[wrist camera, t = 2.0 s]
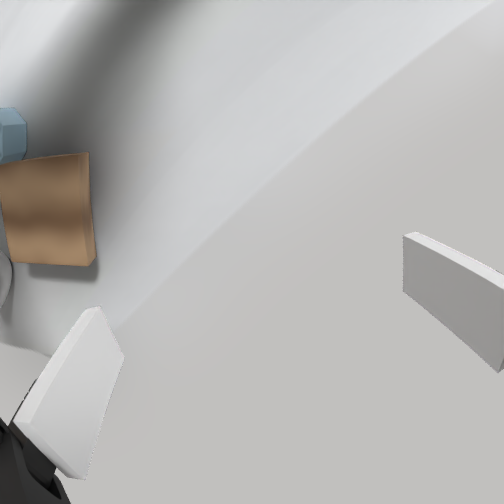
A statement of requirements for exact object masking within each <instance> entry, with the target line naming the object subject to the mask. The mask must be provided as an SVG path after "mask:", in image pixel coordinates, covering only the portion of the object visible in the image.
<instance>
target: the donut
mask: <svg viewBox="0 0 504 504" xmlns="http://www.w3.org/2000/svg"><path fill="white" fill-rule="evenodd" d="M11 279H12V268H11V264H10V261H9V259H8V257H7V256H6V255H5V254H4V253H3V252H1V251H0V308H1V307H2V305H3V304H4V302H5V300H6V297H7V295H8V292H9V289H10V285H11Z"/></svg>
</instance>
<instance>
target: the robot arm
mask: <svg viewBox="0 0 504 504" xmlns="http://www.w3.org/2000/svg"><path fill="white" fill-rule="evenodd" d="M403 257H404V258H403V292H405V293H406V294H407V295H408V296H410V297H411V298H412V299H413V300H415V301H416V302H417V303H418V304H420V305H421V306H422V307H423V308H424V309H426V310H427V311H428V312H429V313H430V314H432V315H433V316H434V317H435V318H437V319H438V320H439V321H440V322H441V323H442V324H444V325H445V326H446V327H447V328H448V329H449V330H450V331H452V332H453V333H454V334H455V335H456V336H457V337H459V338H460V339H461V340H462V341H463V342H464V343H465V344H467V345H468V346H469V347H470V348H471V349H472V350H473V351H474V352H475V353H477V354H478V355H479V356H480V357H481V358H482V359H483V360H484V361H485V362H486V363H487V364H489V365H490V366H491V367H492V368H493V369H494V370H495V371H496V372H497V373H498V372H500V371H501V370H503V369H504V275H503V274H502V273H500V272H498V271H496V270H494V269H492V268H490V267H488V266H486V265H484V264H482V263H480V262H478V261H476V260H475V259H473V258H471V257H468V256H467V255H464V254H462V253H461V252H459V251H457V250H454V249H452V248H450V247H448V246H446V245H444V244H442V243H440V242H437V241H436V240H433V239H431V238H429V237H427V236H425V235H422V234H420V233H418V232H413V233H409V234H405V235H403ZM124 359H125V357H124V355H123V353H122V351H121V349H120V347H119V345H118V343H117V341H116V339H115V337H114V335H113V333H112V331H111V328H110V326H109V324H108V322H107V320H106V317H105V315H104V313H103V311H102V308H101V306H97V307H92V308H87V309H85V311H84V312H83V313H82V315H81V316H80V318H79V319H78V320H77V322H76V323H75V324H74V326H73V327H72V329H71V330H70V331H69V333H68V334H67V336H66V337H65V338H64V340H63V341H62V343H61V344H60V346H59V347H58V349H57V350H56V351H55V353H54V354H53V356H52V357H51V359H50V360H49V362H48V363H47V365H46V367H45V368H44V370H43V371H42V373H41V374H40V376H39V377H38V378H37V379H36V380H35V381H34V383H33V384H32V386H31V388H30V389H29V393H27V394H26V396H25V397H24V400H23V401H22V403H21V404H20V406H19V408H18V410H17V411H16V413H15V415H14V416H13V418H12V420H11V422H10V424H9V425H8V426H7V425H6V424H5V423H4V422H3V420H2V419H1V418H0V504H71V503H70V501H69V499H68V497H67V495H66V493H65V490H64V488H63V486H62V484H61V481H60V480H59V478H58V477H57V476H56V475H55V474H54V473H55V470H56V467H57V468H58V469H59V470H60V471H61V472H62V473H63V474H64V475H65V476H67V477H69V478H75V479H82V480H85V479H86V476H87V472H88V468H89V465H90V461H91V458H92V454H93V451H94V447H95V444H96V441H97V437H98V434H99V431H100V428H101V425H102V422H103V419H104V415H105V412H106V409H107V406H108V404H109V400H110V398H111V395H112V392H113V389H114V386H115V384H116V381H117V378H118V375H119V373H120V370H121V367H122V365H123V361H124Z"/></svg>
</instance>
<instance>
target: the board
mask: <svg viewBox="0 0 504 504" xmlns="http://www.w3.org/2000/svg"><path fill="white" fill-rule="evenodd" d="M0 200H1V208H2V215H3V221H4V227H5V233H6V238H7V243H8V248H9V252H10V257H11V261H12V262H21V263H37V264H55V265H74V266H89V265H90V264H91V263H92V261H93V260H94V259H95V258H96V256H97V255H96V248H95V240H94V232H93V222H92V211H91V198H90V180H89V152H84V153H73V154H63V155H54V156H46V157H39V158H32V159H25V160H18V161H12V162H8V163H4V164H1V165H0Z"/></svg>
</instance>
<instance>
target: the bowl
mask: <svg viewBox="0 0 504 504" xmlns="http://www.w3.org/2000/svg"><path fill="white" fill-rule="evenodd" d="M26 151H27V123H26V122H25V121H24V120H23V118H22V117H21V116H20V115H19V113H18V112H17V111H16V110H15V108H0V165H1V164H4V163H8V162H12V161H18V160H22V158H23V156H24V155H25V153H26Z"/></svg>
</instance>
